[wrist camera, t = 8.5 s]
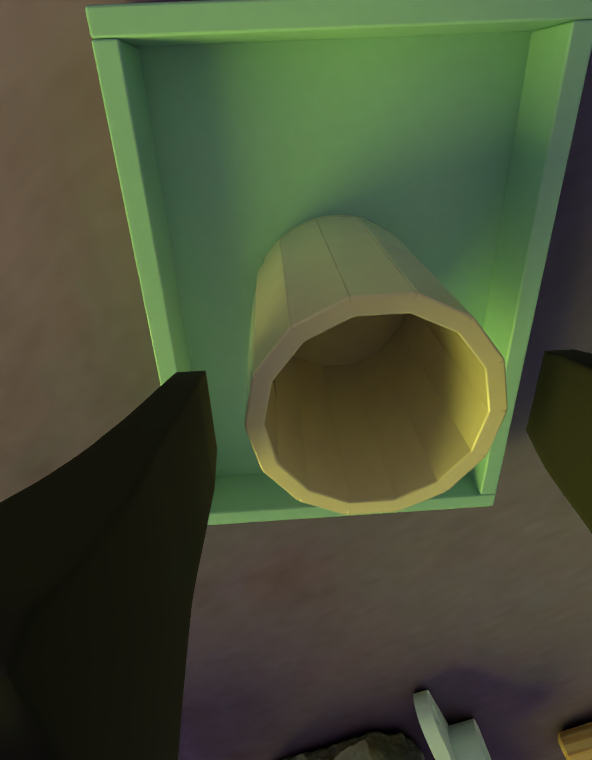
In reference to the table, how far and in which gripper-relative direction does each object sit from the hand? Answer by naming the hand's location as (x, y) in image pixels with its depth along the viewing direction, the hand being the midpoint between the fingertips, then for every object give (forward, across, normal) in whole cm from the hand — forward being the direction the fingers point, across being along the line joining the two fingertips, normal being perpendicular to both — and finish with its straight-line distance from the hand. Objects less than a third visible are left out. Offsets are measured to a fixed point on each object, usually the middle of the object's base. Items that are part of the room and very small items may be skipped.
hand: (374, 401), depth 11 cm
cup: (+6, 0, 0) cm, 6 cm away
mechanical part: (+7, -7, +27) cm, 29 cm away
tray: (+7, 0, 0) cm, 7 cm away
